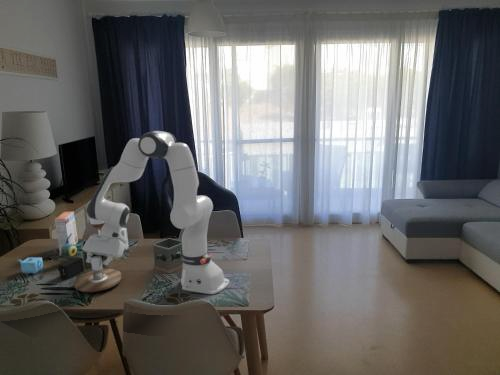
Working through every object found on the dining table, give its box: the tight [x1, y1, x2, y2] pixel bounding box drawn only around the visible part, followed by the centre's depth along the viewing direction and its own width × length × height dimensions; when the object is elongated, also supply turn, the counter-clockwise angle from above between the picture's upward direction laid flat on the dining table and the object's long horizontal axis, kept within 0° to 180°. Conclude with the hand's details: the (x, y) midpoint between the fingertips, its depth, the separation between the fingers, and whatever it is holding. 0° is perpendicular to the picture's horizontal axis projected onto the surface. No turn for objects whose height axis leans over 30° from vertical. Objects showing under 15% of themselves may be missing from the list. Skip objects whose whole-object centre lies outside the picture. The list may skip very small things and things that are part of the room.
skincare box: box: [120, 227, 130, 251], centre depth 209 cm, size 6×4×12 cm
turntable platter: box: [73, 268, 123, 293], centre depth 169 cm, size 20×20×2 cm
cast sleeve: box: [90, 255, 104, 280], centre depth 167 cm, size 4×4×10 cm
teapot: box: [17, 256, 44, 275], centre depth 182 cm, size 12×6×8 cm, turn 89°
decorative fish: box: [58, 234, 84, 261], centre depth 193 cm, size 13×12×6 cm
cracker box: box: [54, 211, 79, 254], centre depth 208 cm, size 14×6×21 cm, turn 6°
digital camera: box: [57, 256, 85, 281], centre depth 179 cm, size 10×5×7 cm, turn 158°
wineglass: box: [88, 216, 106, 234], centre depth 211 cm, size 8×9×20 cm
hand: (96, 263), depth 167 cm, fingers open, 8 cm apart
